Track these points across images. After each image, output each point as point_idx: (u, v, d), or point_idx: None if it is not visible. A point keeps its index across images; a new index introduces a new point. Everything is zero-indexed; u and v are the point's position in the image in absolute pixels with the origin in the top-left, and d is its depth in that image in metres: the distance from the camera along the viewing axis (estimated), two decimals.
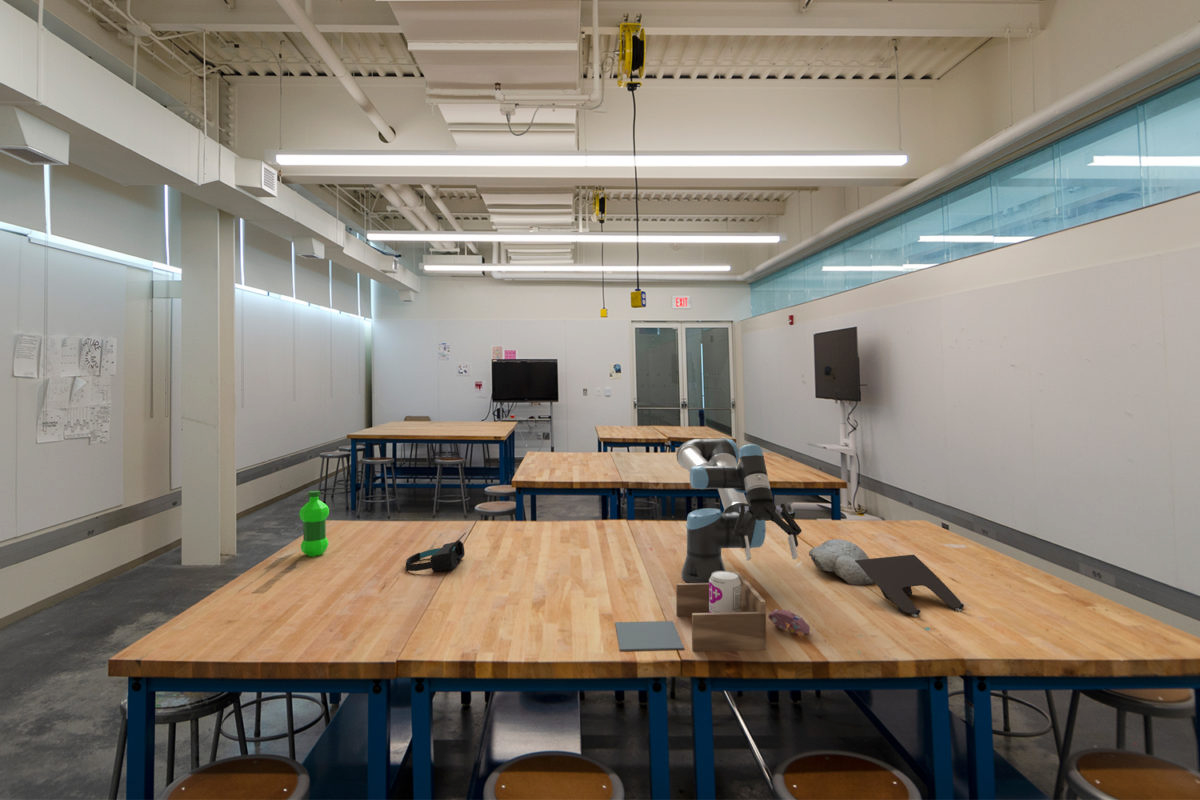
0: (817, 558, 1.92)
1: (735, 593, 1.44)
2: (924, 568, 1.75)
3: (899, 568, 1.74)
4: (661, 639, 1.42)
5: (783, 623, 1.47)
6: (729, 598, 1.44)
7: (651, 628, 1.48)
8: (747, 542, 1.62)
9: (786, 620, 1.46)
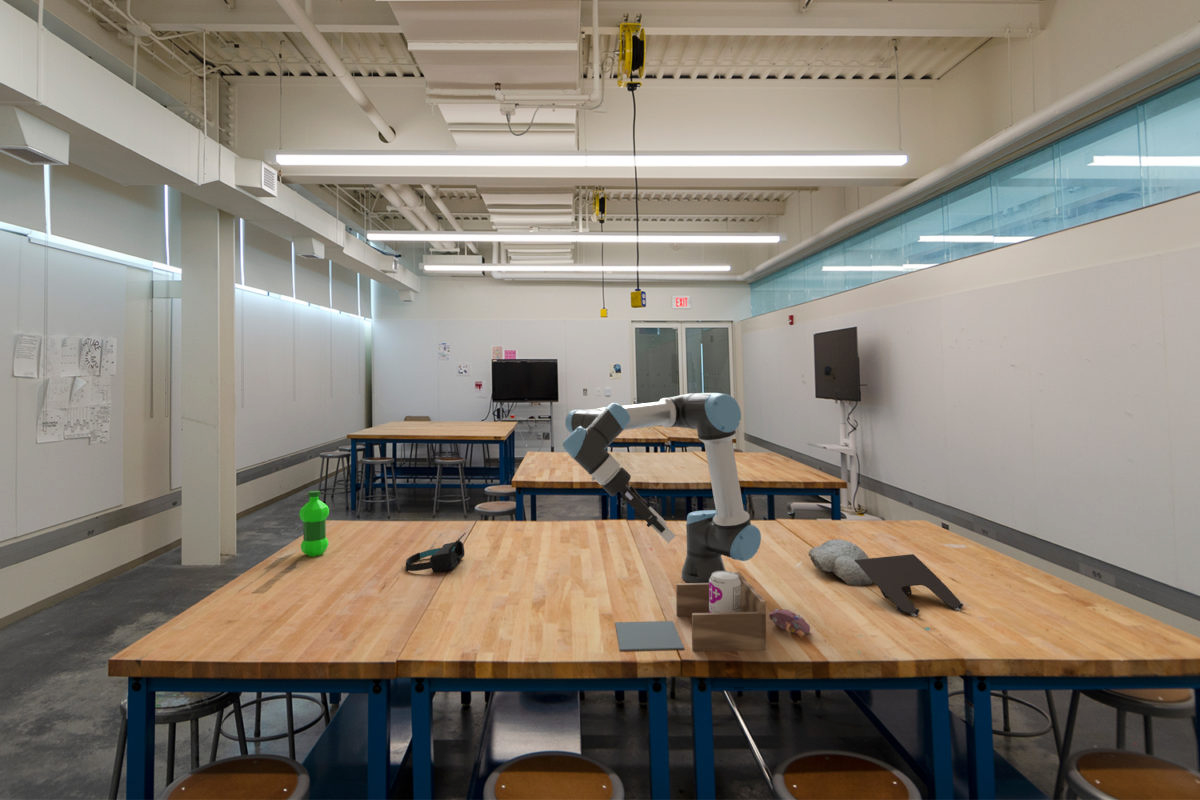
0: (816, 558, 1.91)
1: (735, 593, 1.44)
2: (923, 568, 1.75)
3: (898, 568, 1.74)
4: (661, 639, 1.42)
5: (783, 623, 1.48)
6: (729, 598, 1.44)
7: (651, 628, 1.48)
8: (648, 518, 1.53)
9: (786, 619, 1.46)
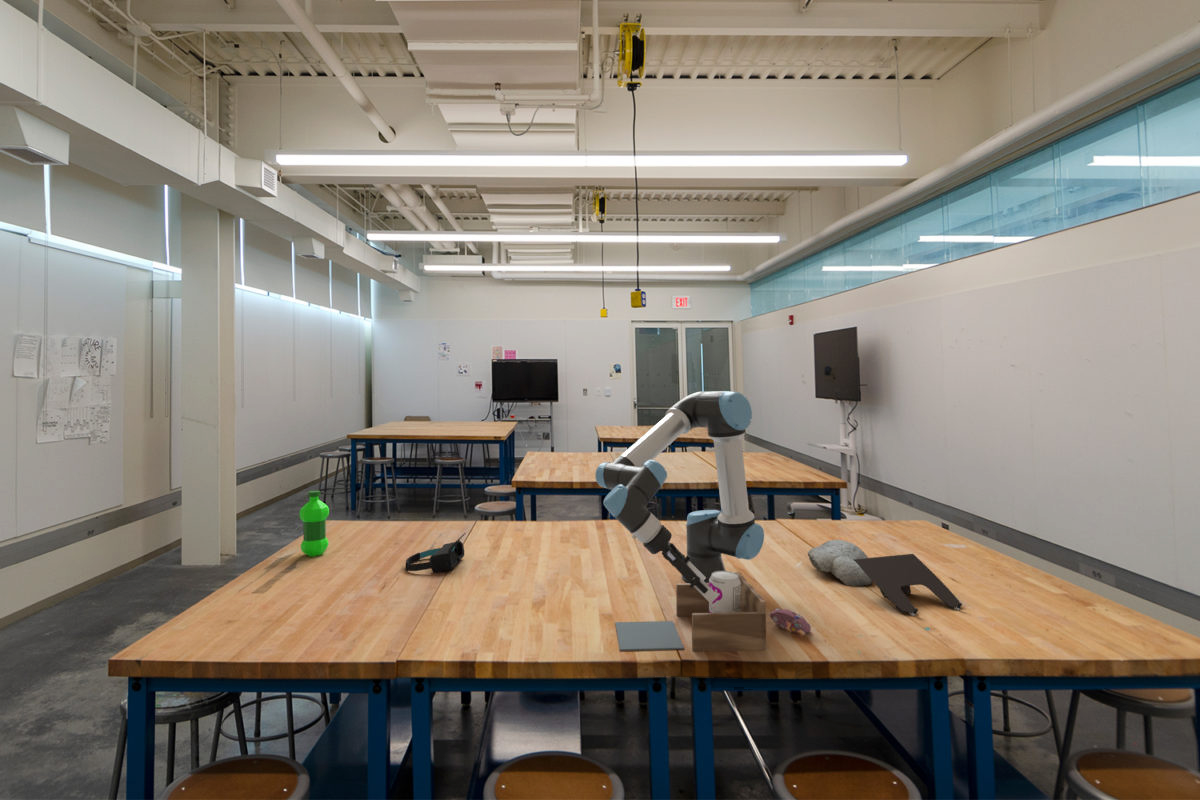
0: (815, 558, 1.91)
1: (735, 593, 1.44)
2: (923, 567, 1.76)
3: (898, 567, 1.74)
4: (661, 639, 1.42)
5: (784, 622, 1.48)
6: (729, 598, 1.44)
7: (651, 628, 1.48)
8: None
9: (787, 619, 1.47)
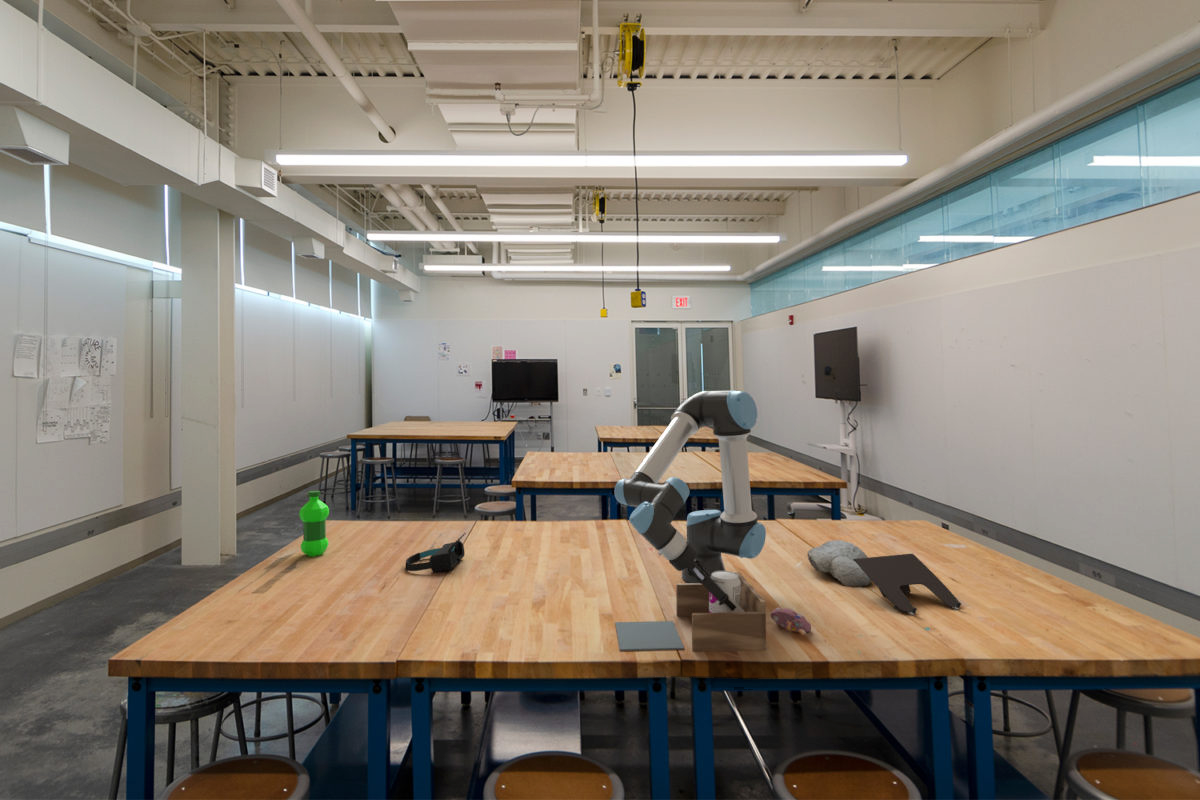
0: (814, 558, 1.91)
1: (735, 593, 1.44)
2: (922, 567, 1.76)
3: (897, 567, 1.75)
4: (661, 639, 1.42)
5: (785, 622, 1.48)
6: None
7: (651, 628, 1.48)
8: None
9: (787, 618, 1.47)
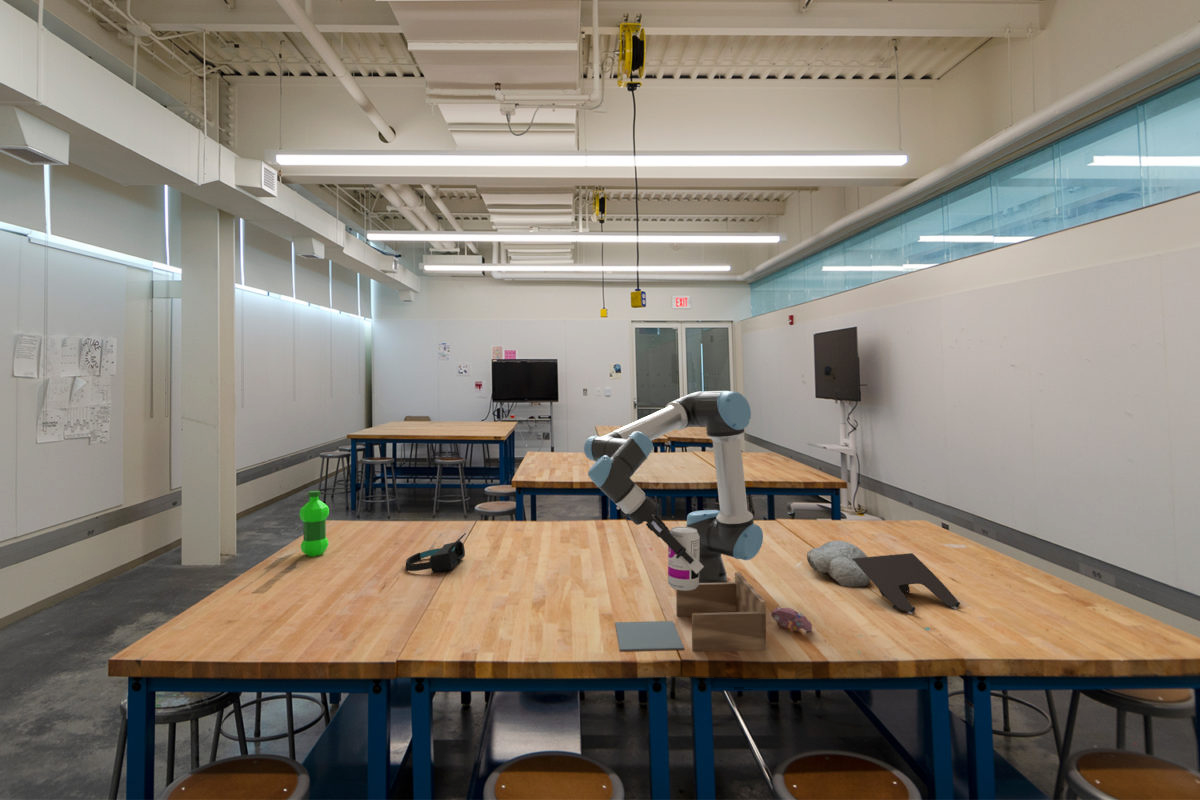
0: (812, 559, 1.91)
1: (693, 547, 1.43)
2: (922, 567, 1.76)
3: (896, 566, 1.75)
4: (661, 639, 1.42)
5: (785, 621, 1.49)
6: None
7: (651, 628, 1.48)
8: None
9: (788, 617, 1.47)
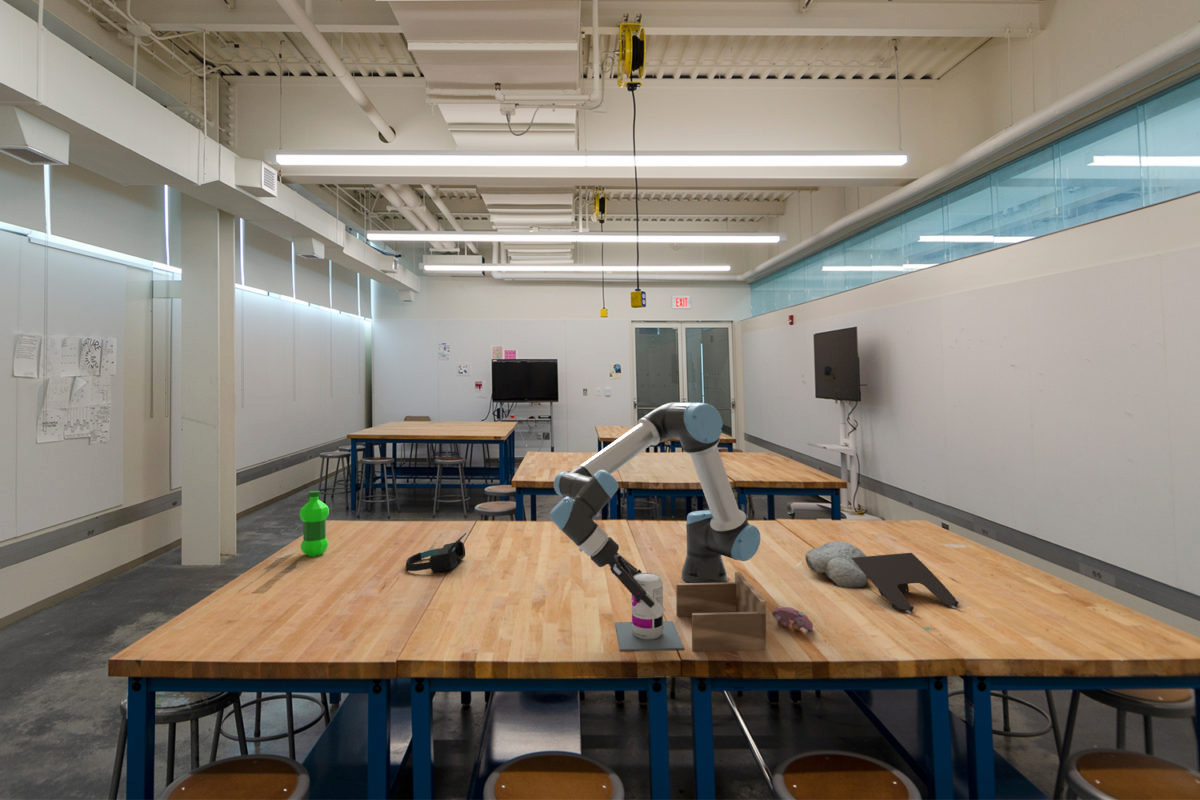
0: (810, 559, 1.91)
1: (656, 595, 1.41)
2: (921, 566, 1.77)
3: (895, 566, 1.76)
4: (661, 639, 1.42)
5: (786, 620, 1.49)
6: None
7: None
8: None
9: (789, 616, 1.48)
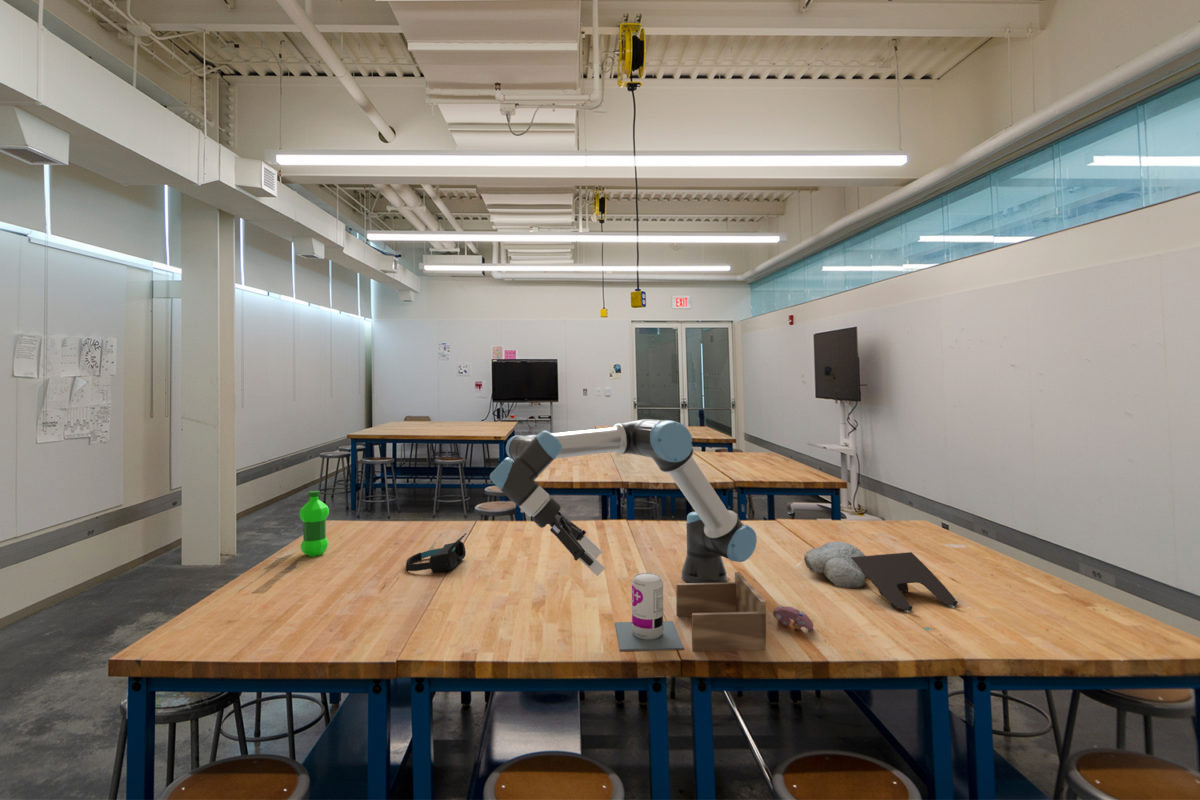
0: (808, 559, 1.91)
1: (656, 595, 1.41)
2: (921, 566, 1.77)
3: (895, 565, 1.76)
4: (661, 639, 1.42)
5: (787, 620, 1.50)
6: (650, 600, 1.41)
7: None
8: (583, 547, 1.50)
9: (790, 616, 1.48)
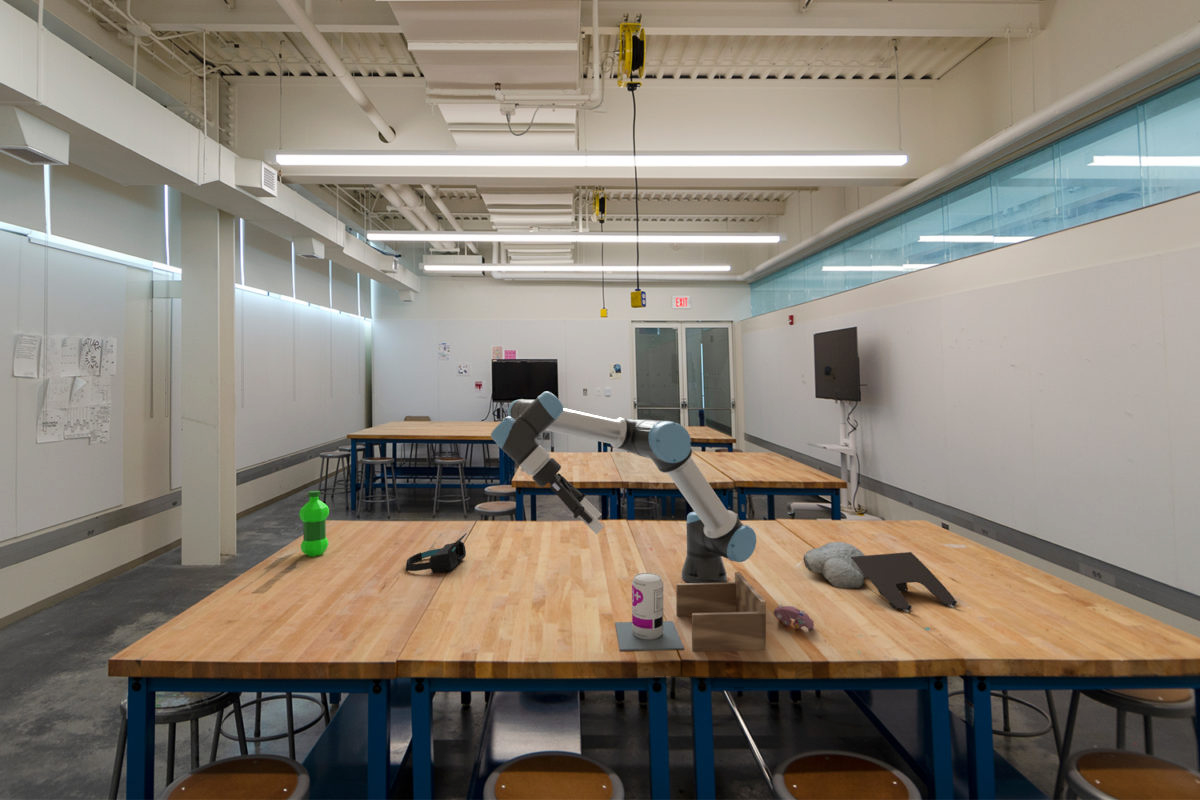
0: (807, 559, 1.91)
1: (656, 595, 1.41)
2: (920, 565, 1.78)
3: (894, 565, 1.77)
4: (661, 639, 1.42)
5: (788, 619, 1.50)
6: (650, 600, 1.41)
7: None
8: None
9: (790, 615, 1.49)
